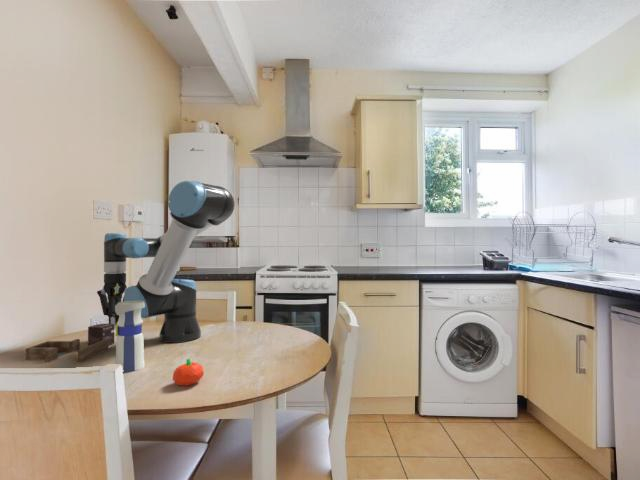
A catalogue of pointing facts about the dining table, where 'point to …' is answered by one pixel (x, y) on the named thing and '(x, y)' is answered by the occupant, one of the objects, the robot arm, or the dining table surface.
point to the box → (100, 333)
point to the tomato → (188, 373)
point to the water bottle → (129, 335)
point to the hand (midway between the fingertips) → (114, 333)
